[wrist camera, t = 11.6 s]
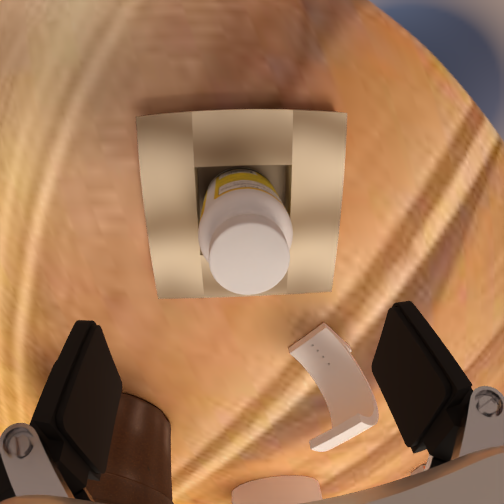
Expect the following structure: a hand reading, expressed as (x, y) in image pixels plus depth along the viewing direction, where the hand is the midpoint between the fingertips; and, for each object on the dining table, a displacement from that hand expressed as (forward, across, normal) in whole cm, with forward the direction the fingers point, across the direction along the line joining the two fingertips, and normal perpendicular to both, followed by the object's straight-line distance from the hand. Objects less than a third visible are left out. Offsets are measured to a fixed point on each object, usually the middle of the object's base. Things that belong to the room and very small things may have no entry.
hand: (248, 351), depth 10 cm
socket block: (+16, -1, 0) cm, 16 cm away
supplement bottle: (+16, -1, 0) cm, 16 cm away
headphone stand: (+16, -9, +16) cm, 25 cm away
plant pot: (+17, +15, +28) cm, 36 cm away
